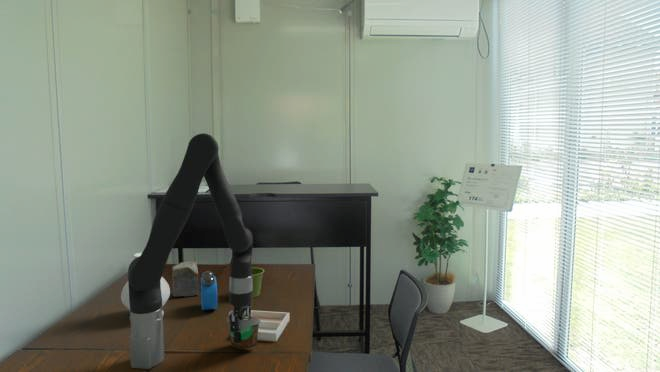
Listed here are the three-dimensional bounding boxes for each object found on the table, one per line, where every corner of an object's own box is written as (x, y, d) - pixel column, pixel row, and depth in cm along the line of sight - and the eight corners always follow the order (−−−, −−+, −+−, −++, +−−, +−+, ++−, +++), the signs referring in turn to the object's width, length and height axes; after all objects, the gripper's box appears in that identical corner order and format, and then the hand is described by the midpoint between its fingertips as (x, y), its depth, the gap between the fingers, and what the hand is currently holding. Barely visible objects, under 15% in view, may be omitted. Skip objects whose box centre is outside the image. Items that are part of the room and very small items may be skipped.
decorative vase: (179, 310, 179) (178, 250, 176) (151, 327, 162) (148, 261, 159) (143, 305, 183) (140, 247, 181) (111, 322, 166) (108, 258, 164)
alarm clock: (217, 313, 175) (216, 277, 173) (201, 315, 173) (200, 279, 171) (215, 302, 187) (214, 268, 186) (200, 304, 185) (199, 269, 184)
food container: (219, 344, 144) (218, 315, 143) (231, 337, 150) (231, 309, 149) (248, 353, 139) (248, 323, 138) (260, 346, 144) (260, 316, 143)
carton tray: (276, 341, 151) (276, 333, 150) (233, 338, 153) (233, 330, 153) (289, 320, 169) (289, 312, 168) (251, 317, 171) (250, 310, 171)
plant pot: (252, 289, 204) (252, 265, 203) (270, 294, 197) (269, 270, 195) (232, 296, 195) (231, 271, 194) (249, 302, 187) (249, 276, 186)
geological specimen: (173, 299, 190) (172, 266, 189) (172, 295, 196) (171, 262, 194) (199, 296, 195) (198, 263, 193) (197, 291, 200) (196, 259, 199)
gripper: (243, 297, 135) (244, 349, 137) (259, 283, 149) (259, 330, 151) (221, 295, 137) (221, 347, 138) (238, 281, 151) (238, 328, 152)
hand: (241, 338), depth 145 cm, fingers closed on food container, 5 cm apart
